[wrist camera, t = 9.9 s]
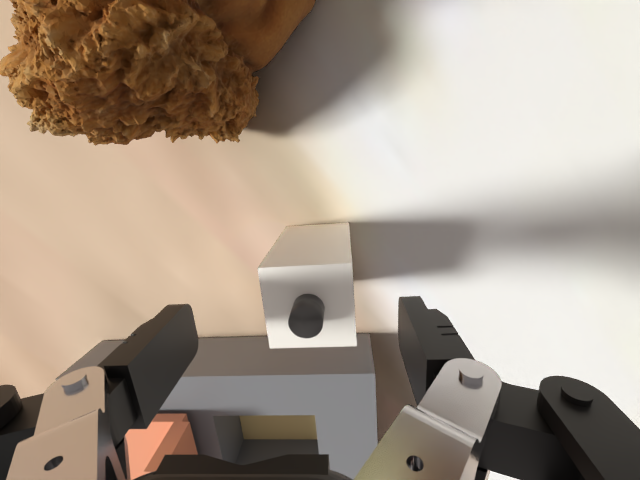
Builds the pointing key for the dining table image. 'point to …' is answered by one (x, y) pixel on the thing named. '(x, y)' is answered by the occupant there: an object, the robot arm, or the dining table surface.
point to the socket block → (274, 400)
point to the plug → (309, 288)
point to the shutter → (159, 442)
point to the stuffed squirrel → (144, 64)
